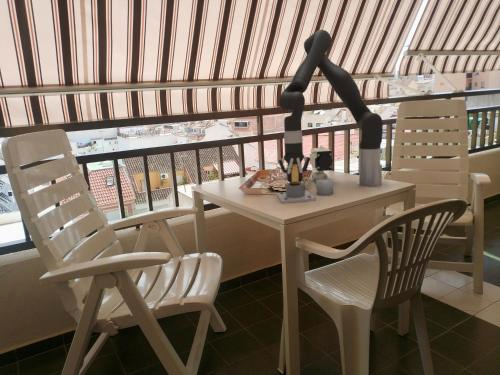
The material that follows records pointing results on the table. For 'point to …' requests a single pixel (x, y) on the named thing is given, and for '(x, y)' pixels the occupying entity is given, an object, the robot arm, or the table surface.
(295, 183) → the cylinder
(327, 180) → the grey wide stub
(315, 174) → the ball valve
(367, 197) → the table surface
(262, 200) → the table surface
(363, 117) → the robot arm
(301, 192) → the flange coupling
